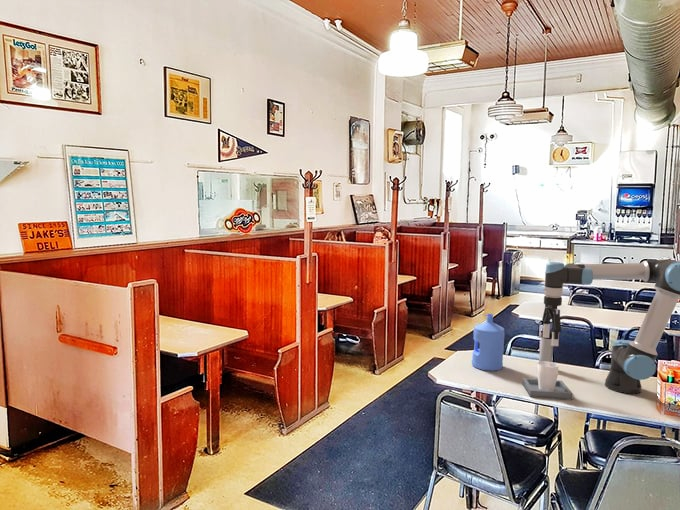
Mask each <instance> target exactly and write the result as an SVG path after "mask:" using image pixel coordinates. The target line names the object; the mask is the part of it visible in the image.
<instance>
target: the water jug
mask: <svg viewBox="0 0 680 510" xmlns="http://www.w3.org/2000/svg"><path fill="white" fill-rule="evenodd" d="M493 319H494V314H492V313H486V321H484V322H481V323H478V324H475V326H474V327H473V340H474V346H473V351H472V357H471V358H472V359H471V365H472V366H473V367H474V368H476V369H479V370H483V371H487V372H489V371H490V372H493V371H496V372H497V371H500V370H502V368H503V365H504V363H503V359H504V350H505V349H504V343H505V328H504V327H503V326H501V325H499V324H497V323H495V322H493V321H494V320H493ZM478 347H479V348H478Z"/></svg>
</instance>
